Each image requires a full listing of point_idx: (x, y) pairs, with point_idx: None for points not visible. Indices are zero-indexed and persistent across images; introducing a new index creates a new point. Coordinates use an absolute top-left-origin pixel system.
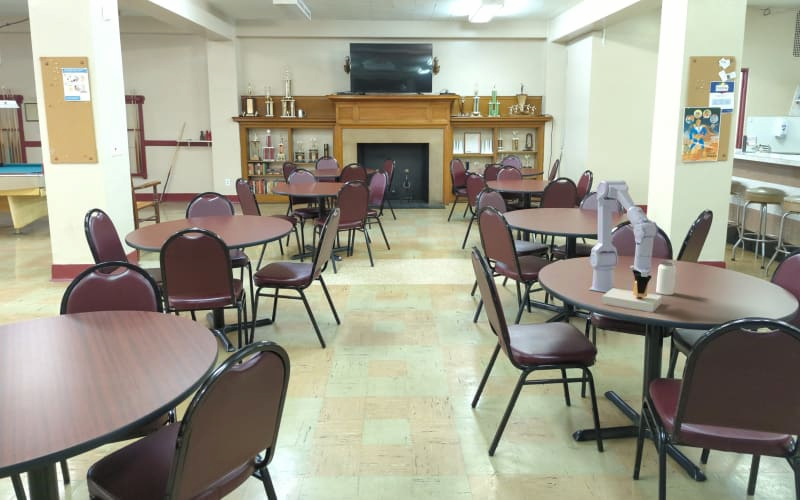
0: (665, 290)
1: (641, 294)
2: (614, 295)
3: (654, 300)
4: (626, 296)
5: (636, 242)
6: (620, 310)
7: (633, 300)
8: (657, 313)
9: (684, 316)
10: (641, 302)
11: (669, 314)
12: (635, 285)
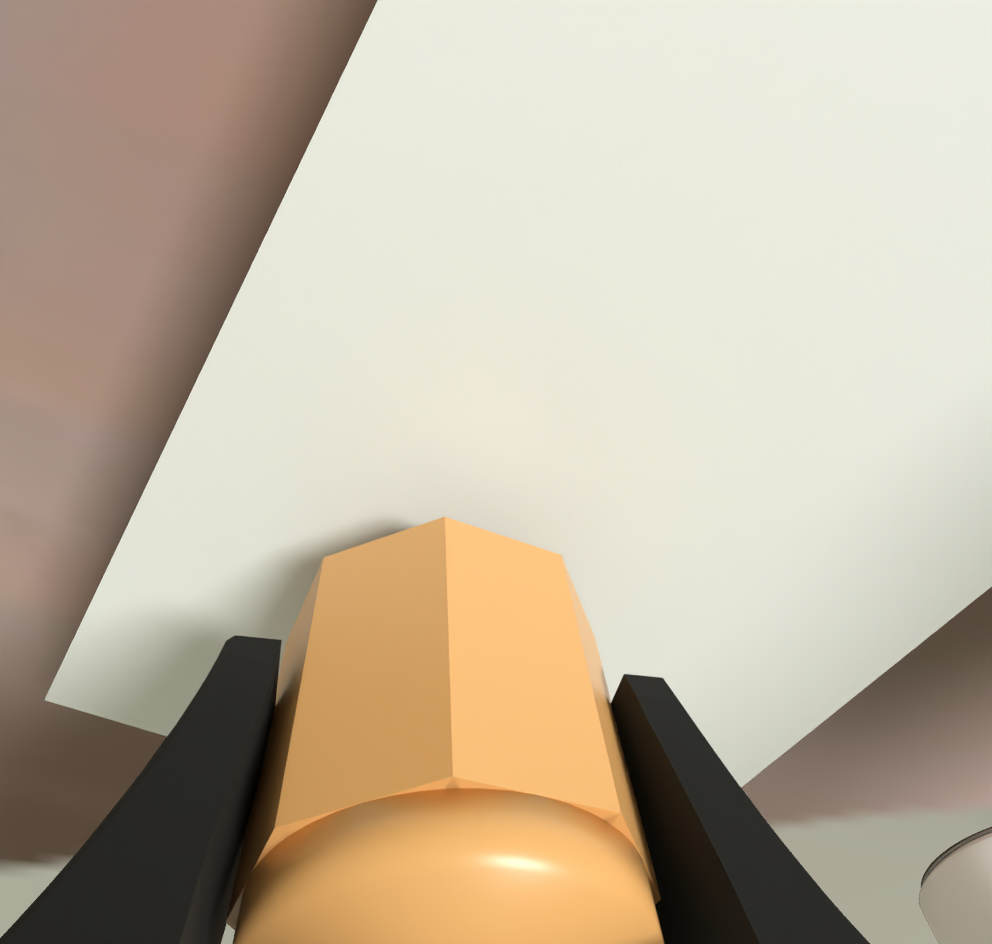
0: (963, 914)
1: (281, 676)
2: (690, 51)
3: None
4: (578, 371)
5: None
6: (8, 4)
7: (226, 431)
8: (71, 635)
9: (54, 848)
10: (119, 548)
11: (80, 745)
12: (376, 761)
